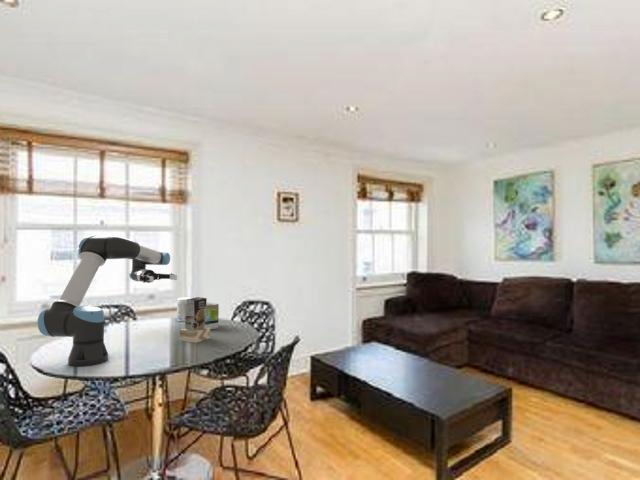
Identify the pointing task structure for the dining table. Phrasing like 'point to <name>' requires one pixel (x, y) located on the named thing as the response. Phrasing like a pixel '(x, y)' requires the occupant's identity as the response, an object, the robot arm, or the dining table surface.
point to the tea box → (212, 315)
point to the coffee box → (195, 313)
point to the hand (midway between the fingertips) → (164, 278)
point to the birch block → (195, 335)
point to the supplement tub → (181, 309)
